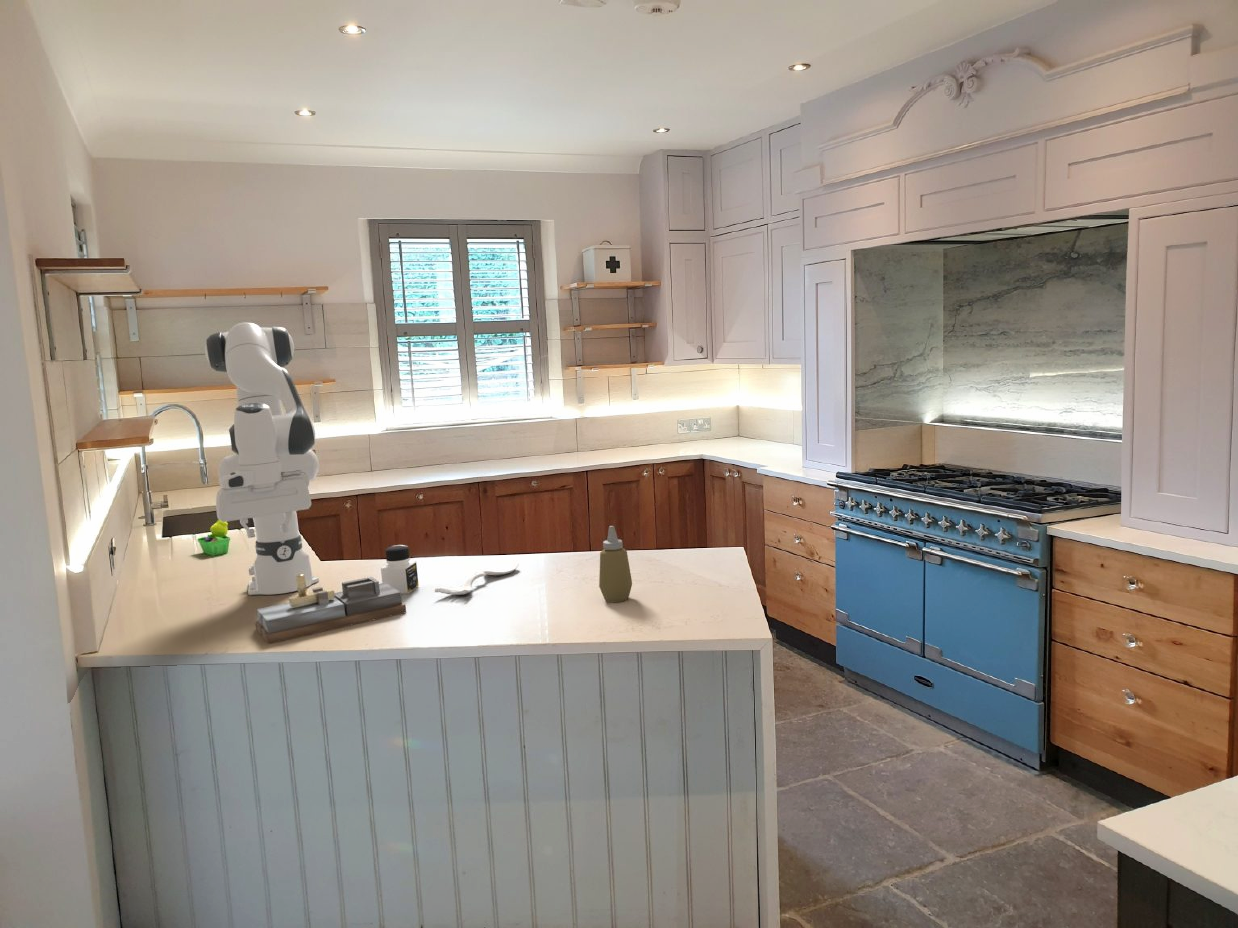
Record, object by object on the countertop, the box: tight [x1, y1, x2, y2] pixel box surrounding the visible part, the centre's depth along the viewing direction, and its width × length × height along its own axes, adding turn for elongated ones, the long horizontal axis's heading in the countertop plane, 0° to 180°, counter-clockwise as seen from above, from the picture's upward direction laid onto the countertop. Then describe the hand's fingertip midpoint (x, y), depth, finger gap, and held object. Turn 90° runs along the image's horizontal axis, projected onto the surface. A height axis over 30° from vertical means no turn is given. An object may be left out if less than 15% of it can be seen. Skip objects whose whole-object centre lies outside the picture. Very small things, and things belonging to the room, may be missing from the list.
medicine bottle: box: [380, 544, 420, 595], centre depth 237 cm, size 7×7×12 cm
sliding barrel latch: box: [254, 576, 407, 644], centre depth 214 cm, size 14×32×8 cm, turn 123°
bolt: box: [288, 574, 335, 607], centre depth 212 cm, size 2×10×7 cm, turn 123°
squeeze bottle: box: [598, 525, 633, 603], centre depth 215 cm, size 8×8×18 cm
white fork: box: [434, 560, 520, 596], centre depth 240 cm, size 9×32×4 cm, turn 158°
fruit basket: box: [197, 518, 231, 557], centre depth 303 cm, size 11×9×11 cm
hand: (268, 534), depth 205 cm, fingers open, 6 cm apart
